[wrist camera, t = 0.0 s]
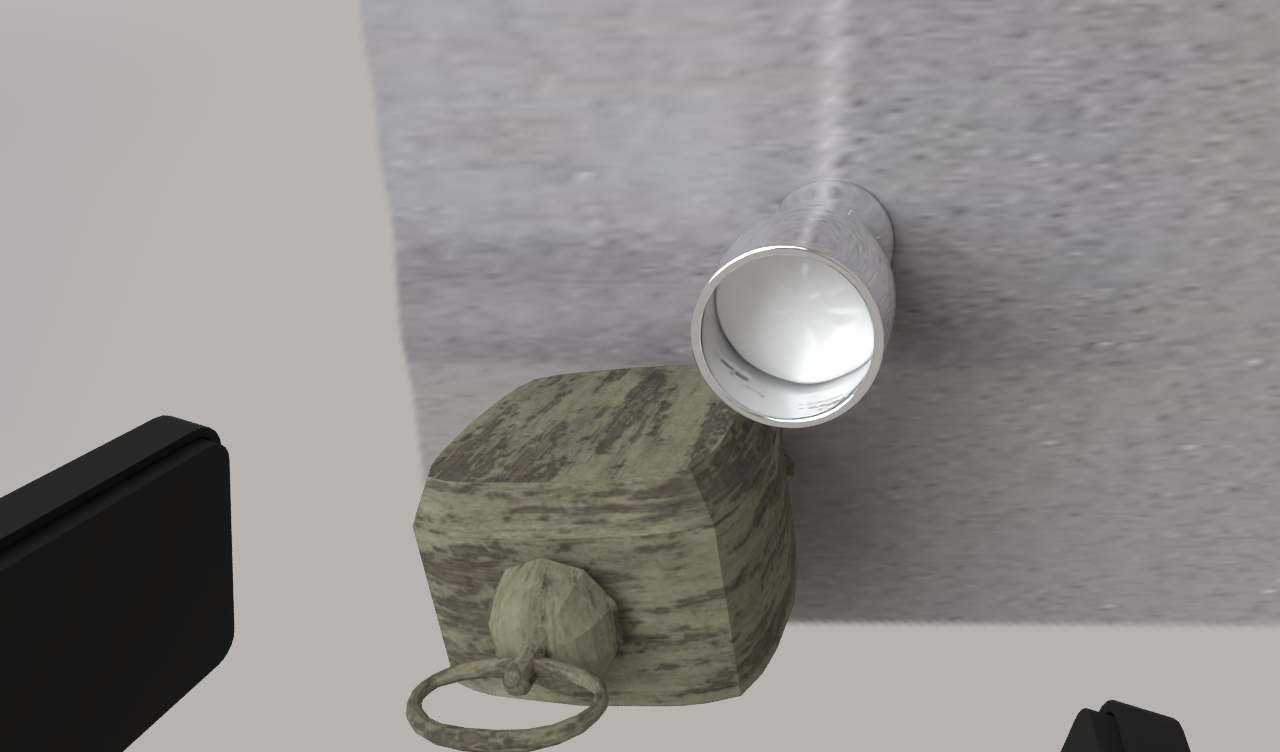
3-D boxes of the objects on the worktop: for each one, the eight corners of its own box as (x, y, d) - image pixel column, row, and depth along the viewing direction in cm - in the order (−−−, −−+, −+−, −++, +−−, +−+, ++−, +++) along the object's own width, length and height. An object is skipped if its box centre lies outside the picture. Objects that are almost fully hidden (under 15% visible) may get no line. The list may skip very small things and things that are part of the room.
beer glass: (866, 334, 46) (838, 466, 33) (736, 279, 47) (657, 385, 33) (929, 203, 43) (928, 288, 30) (789, 147, 44) (726, 206, 30)
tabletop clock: (570, 495, 54) (314, 832, 32) (539, 348, 51) (235, 604, 29) (820, 490, 50) (727, 881, 27) (802, 328, 47) (680, 614, 24)
